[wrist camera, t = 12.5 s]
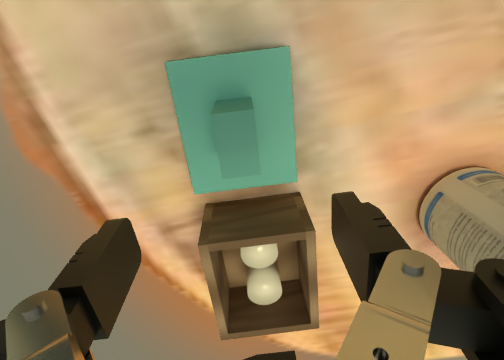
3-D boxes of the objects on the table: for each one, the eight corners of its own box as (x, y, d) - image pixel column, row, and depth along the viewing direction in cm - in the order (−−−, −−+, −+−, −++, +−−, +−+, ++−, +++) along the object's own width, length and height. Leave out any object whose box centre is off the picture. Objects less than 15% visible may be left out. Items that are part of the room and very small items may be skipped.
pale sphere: (244, 255, 34) (245, 281, 30) (276, 251, 34) (280, 276, 30) (248, 279, 35) (249, 306, 32) (278, 275, 35) (283, 302, 32)
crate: (205, 204, 32) (197, 245, 25) (299, 192, 32) (315, 230, 25) (224, 288, 37) (221, 340, 31) (305, 278, 37) (319, 328, 30)
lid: (170, 60, 26) (147, 67, 19) (285, 45, 26) (302, 47, 19) (197, 184, 31) (186, 223, 24) (293, 172, 31) (308, 208, 24)
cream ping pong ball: (237, 218, 32) (238, 241, 28) (271, 213, 32) (276, 236, 28) (242, 245, 33) (243, 270, 30) (275, 241, 33) (279, 265, 30)
